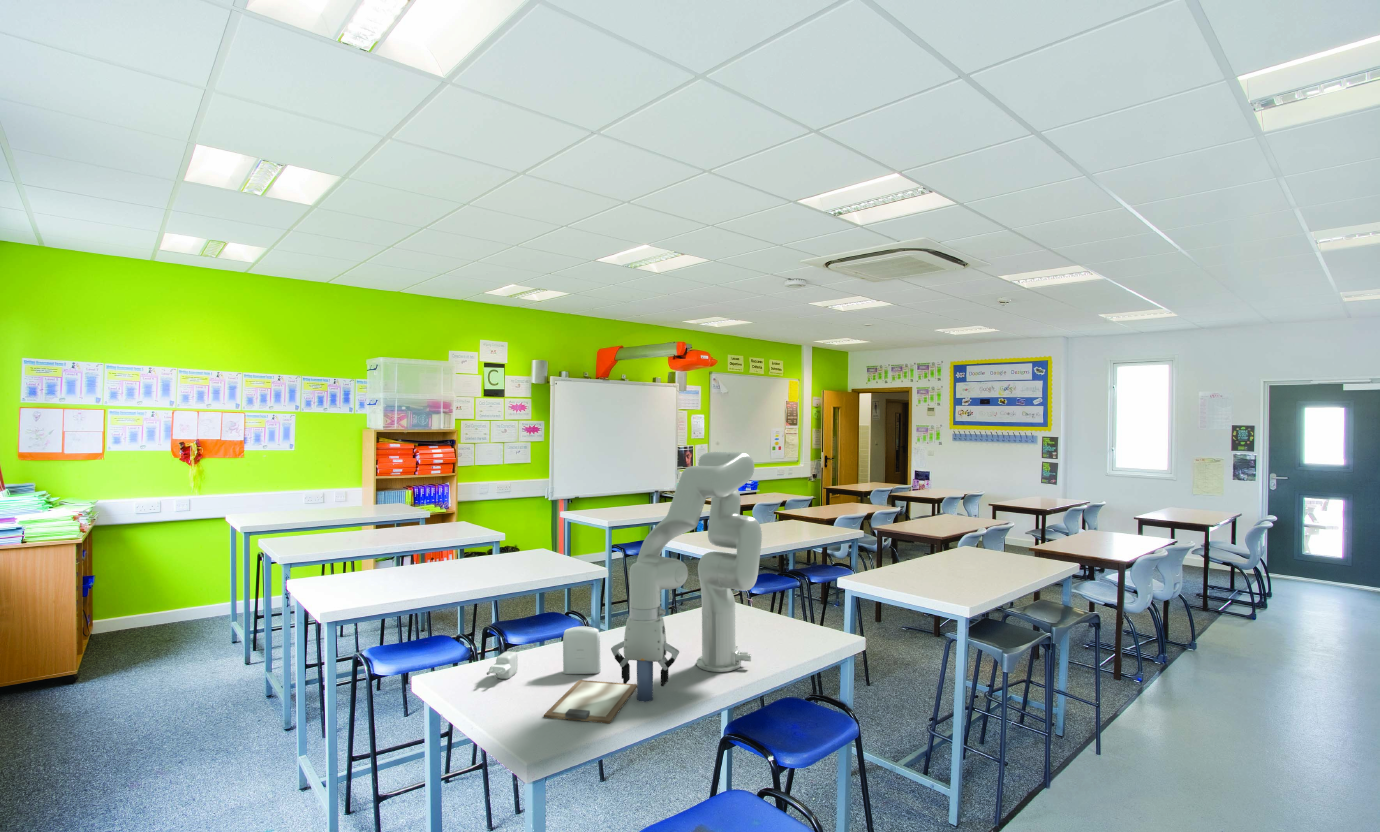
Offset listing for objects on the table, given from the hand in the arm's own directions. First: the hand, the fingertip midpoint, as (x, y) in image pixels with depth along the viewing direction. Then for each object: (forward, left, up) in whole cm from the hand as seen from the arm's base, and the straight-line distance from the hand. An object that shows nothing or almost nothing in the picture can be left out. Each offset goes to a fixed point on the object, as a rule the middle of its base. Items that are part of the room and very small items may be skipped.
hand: (644, 682), depth 161 cm
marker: (0, 0, -4) cm, 4 cm away
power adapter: (+41, -5, -4) cm, 42 cm away
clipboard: (+12, +4, -4) cm, 13 cm away
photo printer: (+22, -14, -4) cm, 26 cm away
